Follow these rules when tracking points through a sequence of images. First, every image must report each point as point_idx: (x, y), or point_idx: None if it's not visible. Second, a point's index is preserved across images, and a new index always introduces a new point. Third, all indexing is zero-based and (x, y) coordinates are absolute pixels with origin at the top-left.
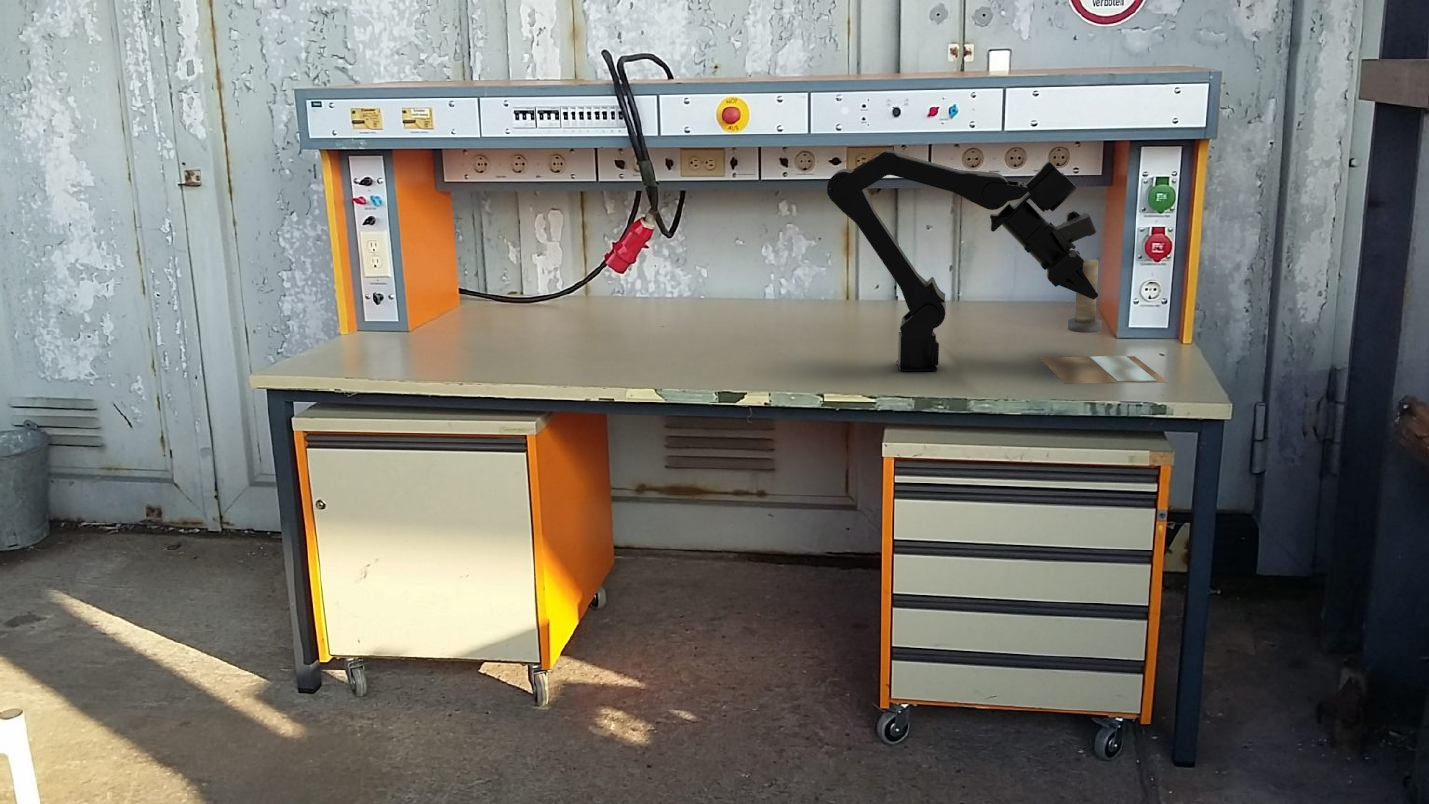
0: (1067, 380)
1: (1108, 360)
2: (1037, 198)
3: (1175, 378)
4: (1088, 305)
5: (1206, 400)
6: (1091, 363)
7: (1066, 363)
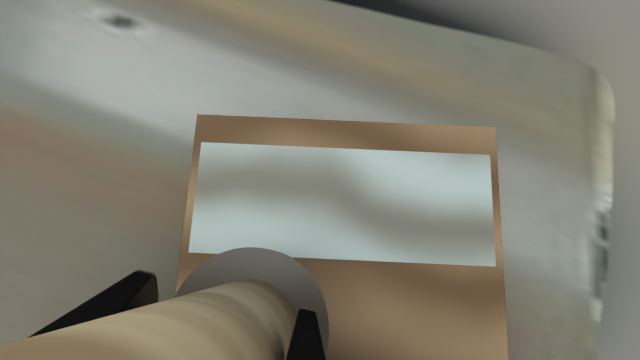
0: None
1: (248, 210)
2: None
3: (367, 75)
4: None
5: (576, 81)
6: None
7: None
